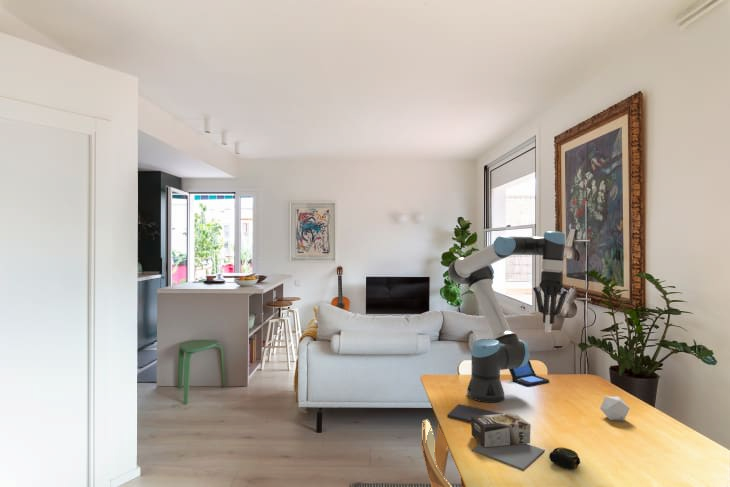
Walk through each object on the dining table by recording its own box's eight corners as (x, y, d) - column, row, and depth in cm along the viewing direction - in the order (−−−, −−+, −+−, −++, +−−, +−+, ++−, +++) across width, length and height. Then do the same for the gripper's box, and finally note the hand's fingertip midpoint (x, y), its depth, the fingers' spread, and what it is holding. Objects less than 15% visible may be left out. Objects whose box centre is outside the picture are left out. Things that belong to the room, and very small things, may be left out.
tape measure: (548, 463, 116) (547, 450, 116) (561, 457, 120) (560, 444, 120) (571, 474, 111) (571, 460, 111) (584, 467, 114) (584, 454, 115)
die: (628, 427, 142) (637, 402, 146) (605, 413, 144) (614, 389, 147) (615, 426, 150) (623, 403, 153) (593, 413, 152) (601, 390, 155)
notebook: (447, 418, 148) (506, 433, 137) (447, 414, 148) (506, 428, 137) (458, 407, 159) (514, 420, 148) (458, 403, 159) (514, 415, 148)
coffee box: (531, 423, 127) (484, 427, 124) (530, 443, 127) (484, 448, 123) (514, 411, 136) (470, 415, 132) (514, 431, 136) (470, 435, 132)
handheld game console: (527, 387, 183) (527, 367, 184) (505, 379, 195) (505, 360, 196) (550, 382, 191) (550, 363, 191) (527, 375, 203) (527, 356, 203)
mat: (471, 450, 123) (471, 448, 123) (495, 434, 134) (495, 433, 134) (523, 470, 112) (523, 468, 112) (544, 451, 123) (544, 449, 123)
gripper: (573, 272, 154) (569, 334, 153) (538, 269, 163) (534, 327, 163) (566, 272, 149) (562, 336, 148) (531, 269, 158) (527, 329, 157)
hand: (547, 331), depth 155 cm, fingers closed
